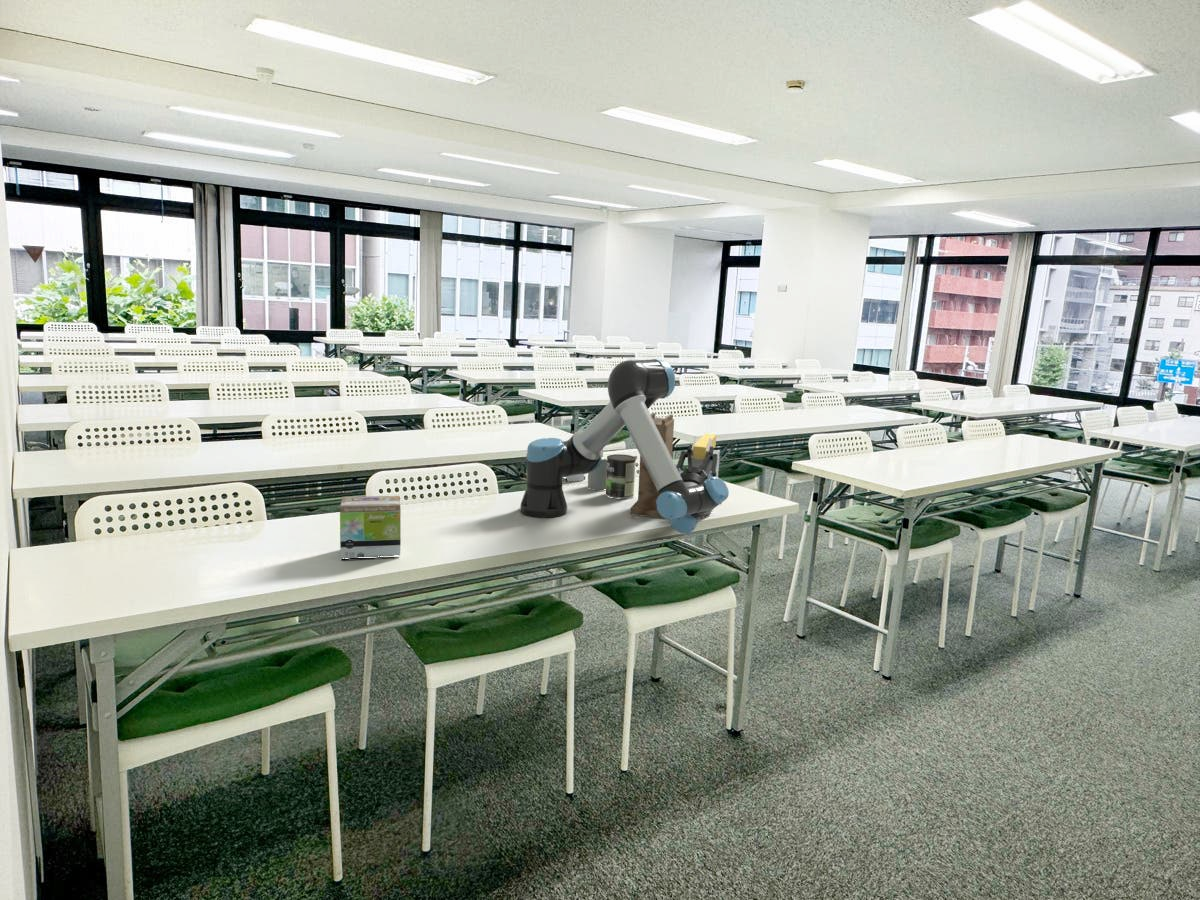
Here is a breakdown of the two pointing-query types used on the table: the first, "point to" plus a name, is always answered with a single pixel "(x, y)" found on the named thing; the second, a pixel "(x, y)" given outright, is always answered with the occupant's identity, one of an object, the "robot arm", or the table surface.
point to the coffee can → (620, 476)
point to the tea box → (370, 526)
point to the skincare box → (575, 477)
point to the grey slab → (698, 462)
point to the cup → (598, 477)
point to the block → (703, 446)
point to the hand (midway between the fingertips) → (703, 440)
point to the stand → (646, 485)
